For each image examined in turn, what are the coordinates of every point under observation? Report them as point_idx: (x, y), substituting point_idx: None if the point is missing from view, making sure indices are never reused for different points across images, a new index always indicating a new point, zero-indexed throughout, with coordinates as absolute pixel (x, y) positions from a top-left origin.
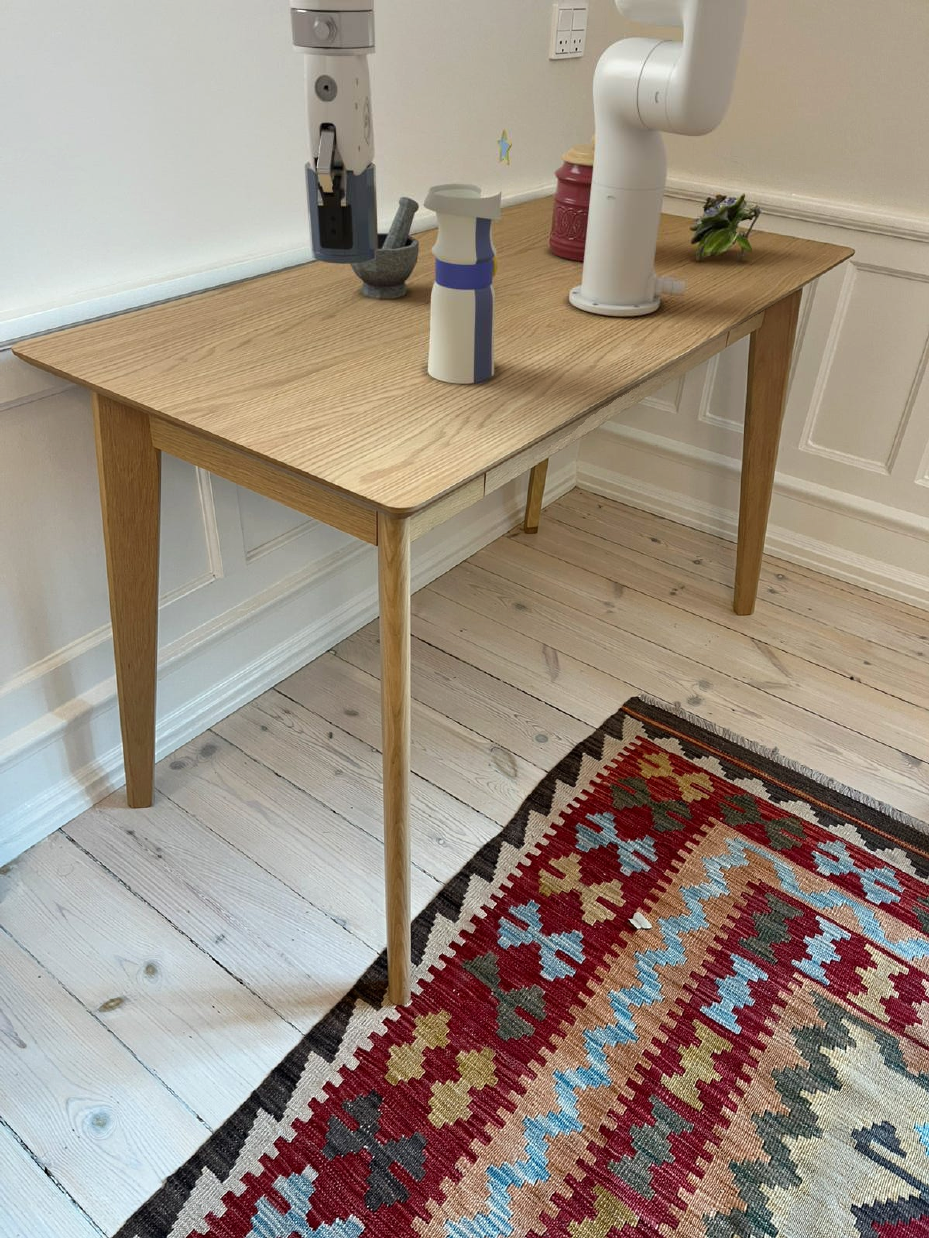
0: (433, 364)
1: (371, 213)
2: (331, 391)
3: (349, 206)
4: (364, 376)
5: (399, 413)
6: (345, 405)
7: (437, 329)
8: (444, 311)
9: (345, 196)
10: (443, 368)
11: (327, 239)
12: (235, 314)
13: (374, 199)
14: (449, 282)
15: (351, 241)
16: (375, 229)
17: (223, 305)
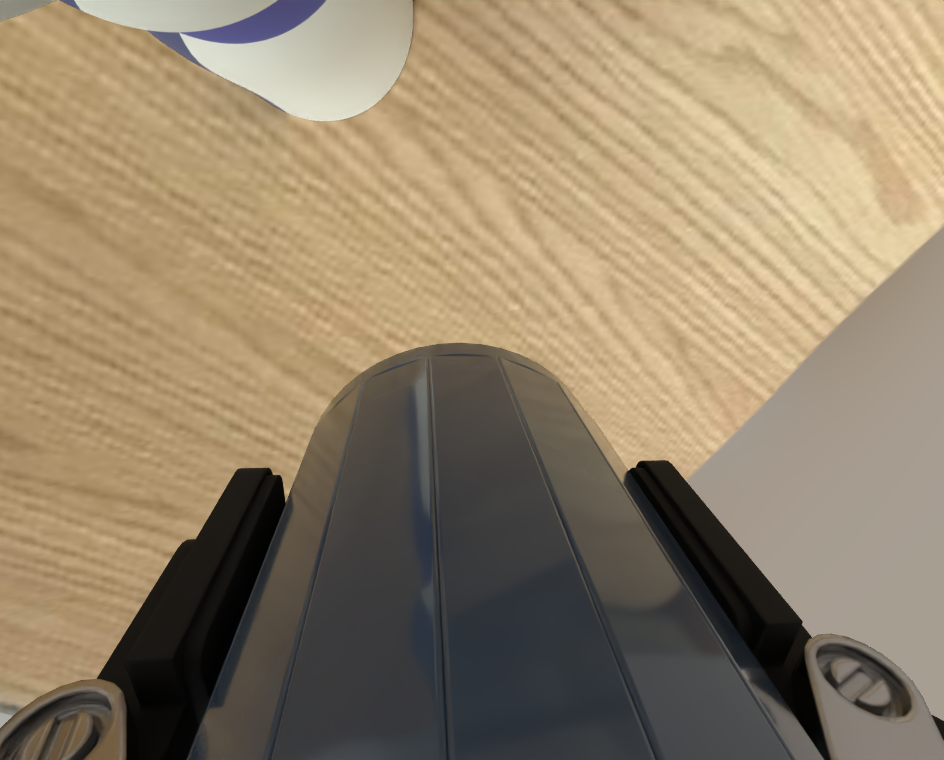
0: (371, 96)
1: (577, 473)
2: (496, 344)
3: (799, 627)
4: (398, 288)
5: (613, 177)
6: (569, 304)
7: (366, 63)
8: (379, 12)
9: (930, 716)
10: (398, 60)
11: None
12: (84, 613)
13: (555, 520)
14: None
15: (678, 478)
16: (514, 400)
17: (36, 646)
